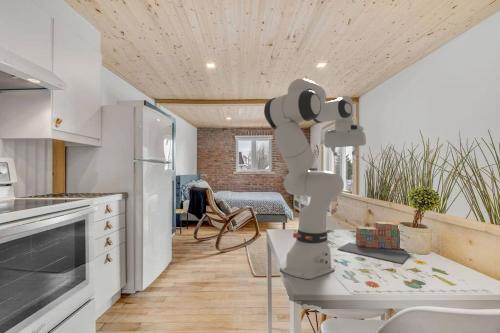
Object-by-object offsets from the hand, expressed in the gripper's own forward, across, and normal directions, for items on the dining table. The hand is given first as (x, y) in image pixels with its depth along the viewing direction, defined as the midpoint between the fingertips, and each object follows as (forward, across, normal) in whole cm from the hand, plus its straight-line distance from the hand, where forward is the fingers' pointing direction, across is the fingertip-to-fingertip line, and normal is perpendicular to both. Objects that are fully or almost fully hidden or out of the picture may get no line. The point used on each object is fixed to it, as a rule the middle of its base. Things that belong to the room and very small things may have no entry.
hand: (344, 155), depth 127 cm
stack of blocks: (+47, +13, +12) cm, 50 cm away
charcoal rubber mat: (+47, +12, +1) cm, 49 cm away
